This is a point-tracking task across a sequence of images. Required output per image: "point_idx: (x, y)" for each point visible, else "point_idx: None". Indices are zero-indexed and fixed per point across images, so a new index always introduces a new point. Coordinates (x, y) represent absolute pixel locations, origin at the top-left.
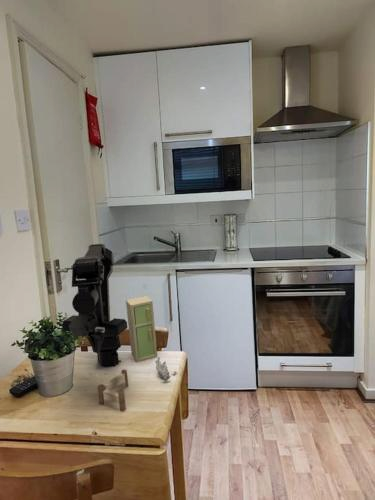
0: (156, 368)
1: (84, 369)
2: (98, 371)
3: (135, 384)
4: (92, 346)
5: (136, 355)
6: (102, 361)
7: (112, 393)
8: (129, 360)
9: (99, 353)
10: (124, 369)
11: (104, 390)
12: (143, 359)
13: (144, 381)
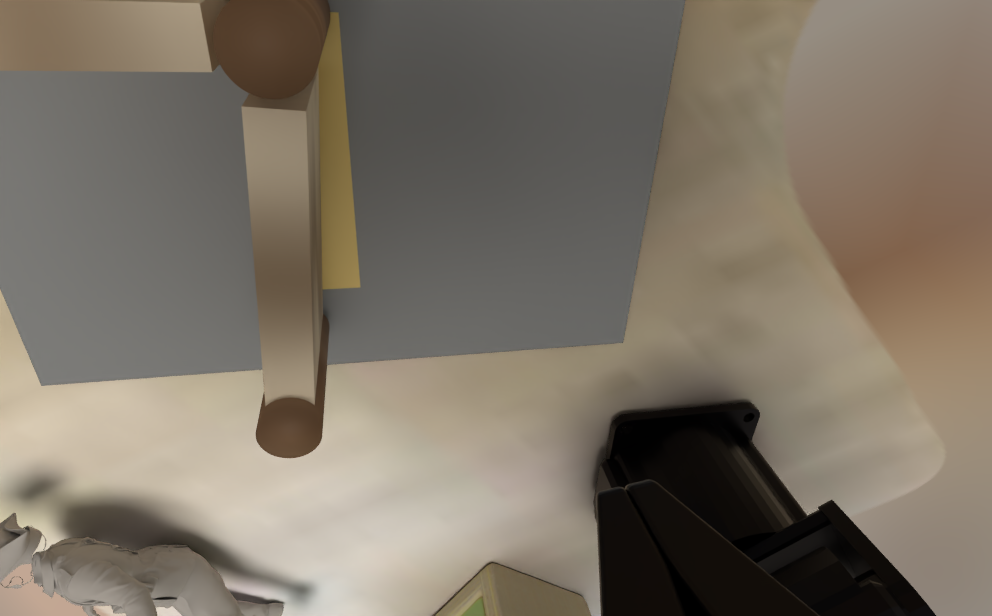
0: (144, 589)
1: (822, 349)
2: (696, 377)
3: None
4: (766, 597)
5: (495, 613)
6: (707, 460)
7: (17, 19)
8: (554, 553)
9: (769, 513)
10: (307, 452)
11: (200, 33)
12: (457, 599)
13: (239, 443)
